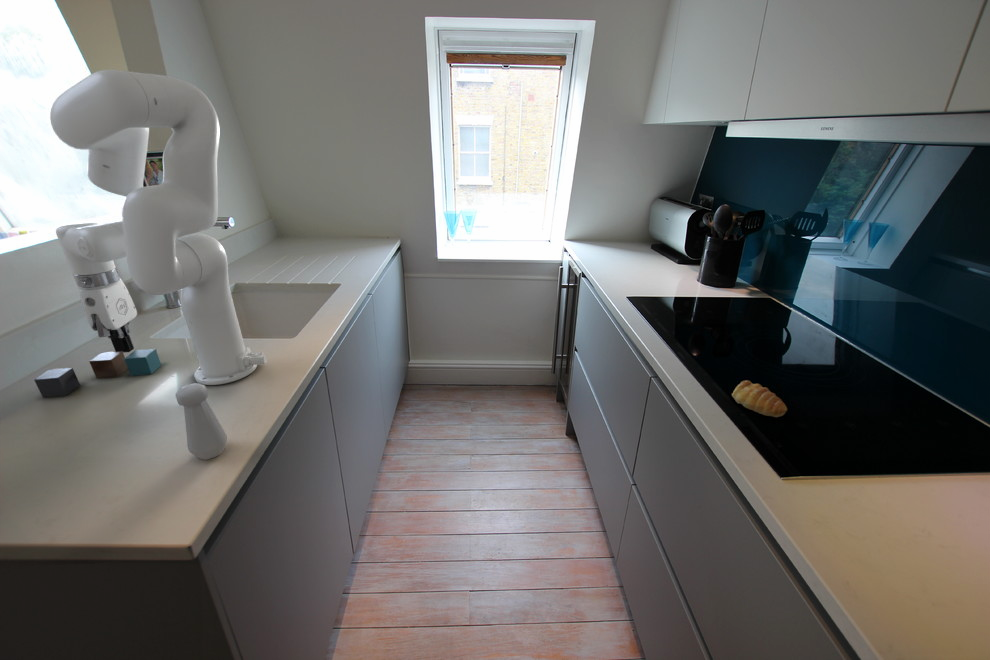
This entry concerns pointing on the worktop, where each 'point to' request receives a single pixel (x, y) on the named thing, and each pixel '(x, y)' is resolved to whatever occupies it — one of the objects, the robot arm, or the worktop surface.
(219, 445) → the salt shaker
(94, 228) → the robot arm
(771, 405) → the pastry
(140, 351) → the teal block
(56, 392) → the charcoal block
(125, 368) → the walnut block
